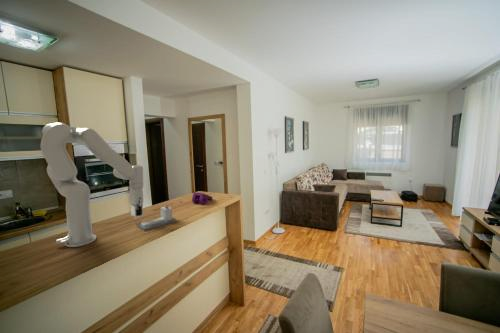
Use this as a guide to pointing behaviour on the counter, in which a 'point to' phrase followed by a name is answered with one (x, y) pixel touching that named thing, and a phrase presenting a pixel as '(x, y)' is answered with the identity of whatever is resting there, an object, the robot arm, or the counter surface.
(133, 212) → the rail module
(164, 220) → the mounting board
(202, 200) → the purple rounded lump
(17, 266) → the counter surface
